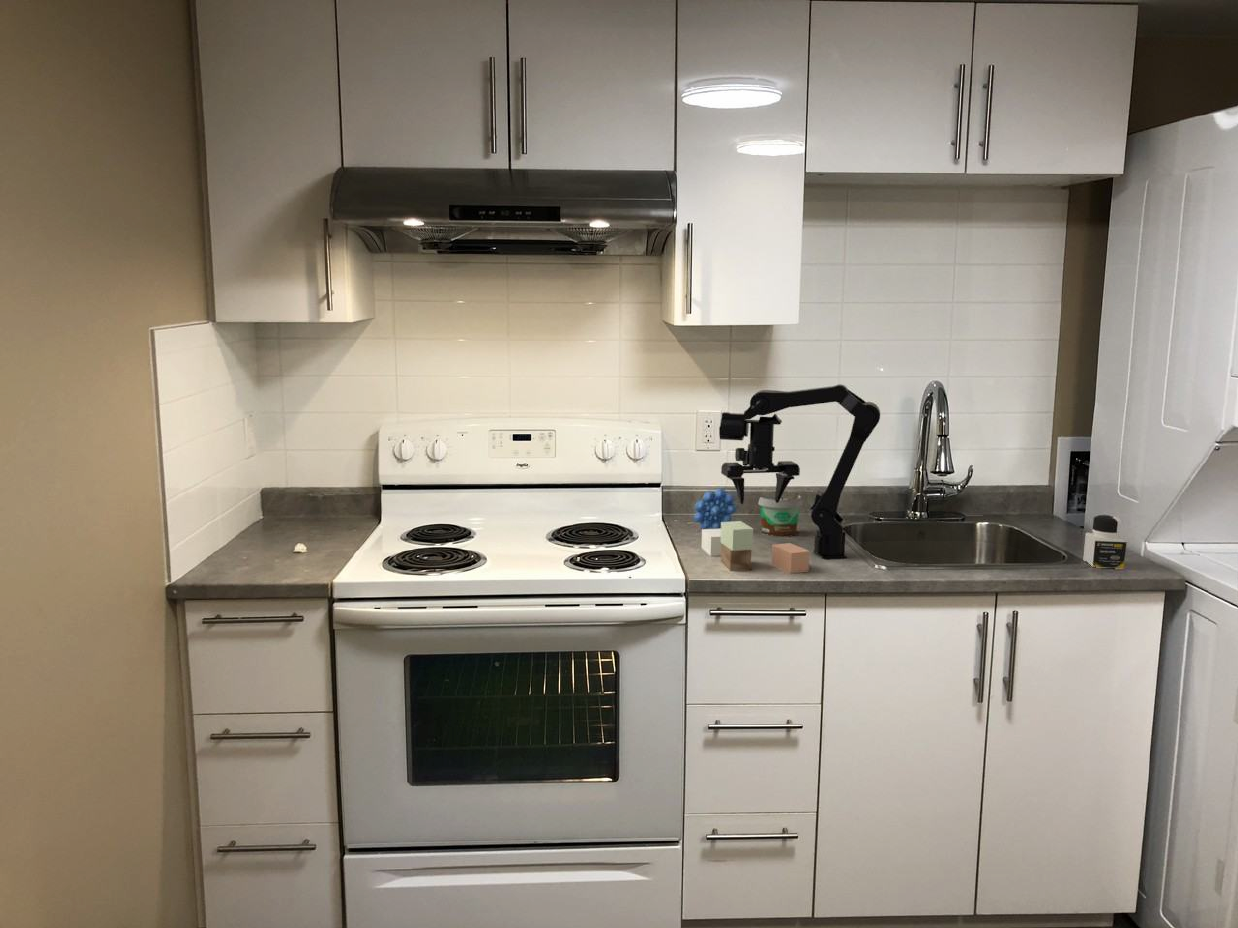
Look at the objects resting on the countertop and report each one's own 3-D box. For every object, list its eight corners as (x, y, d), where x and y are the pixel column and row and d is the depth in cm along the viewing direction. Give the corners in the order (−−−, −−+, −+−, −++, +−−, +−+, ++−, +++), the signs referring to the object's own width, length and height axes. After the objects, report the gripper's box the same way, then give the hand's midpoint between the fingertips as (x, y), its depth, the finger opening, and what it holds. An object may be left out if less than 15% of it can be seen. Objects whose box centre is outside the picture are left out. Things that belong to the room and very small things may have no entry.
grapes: (734, 528, 270) (735, 485, 268) (737, 534, 264) (738, 490, 262) (692, 527, 270) (693, 484, 268) (694, 533, 264) (695, 489, 262)
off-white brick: (720, 547, 250) (721, 528, 249) (730, 555, 242) (730, 536, 242) (701, 548, 249) (702, 529, 248) (710, 556, 241) (711, 536, 241)
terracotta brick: (789, 563, 236) (789, 542, 235) (808, 571, 229) (809, 551, 228) (771, 565, 234) (772, 544, 233) (790, 574, 227) (791, 553, 226)
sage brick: (740, 541, 237) (740, 521, 236) (752, 549, 229) (753, 528, 228) (720, 542, 235) (721, 522, 235) (732, 550, 228) (733, 529, 227)
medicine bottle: (1092, 568, 234) (1097, 519, 232) (1082, 560, 241) (1087, 512, 239) (1124, 569, 233) (1129, 520, 231) (1113, 561, 240) (1118, 513, 238)
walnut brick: (740, 561, 238) (741, 541, 237) (750, 570, 230) (751, 549, 229) (720, 562, 237) (721, 541, 236) (730, 571, 229) (730, 550, 228)
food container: (766, 538, 259) (767, 501, 257) (757, 533, 265) (758, 496, 263) (809, 536, 262) (810, 499, 261) (798, 530, 268) (800, 494, 266)
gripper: (785, 436, 253) (783, 495, 255) (715, 437, 249) (714, 497, 252) (801, 442, 242) (799, 504, 244) (729, 444, 238) (727, 507, 241)
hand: (759, 503), depth 246 cm, fingers open, 9 cm apart
